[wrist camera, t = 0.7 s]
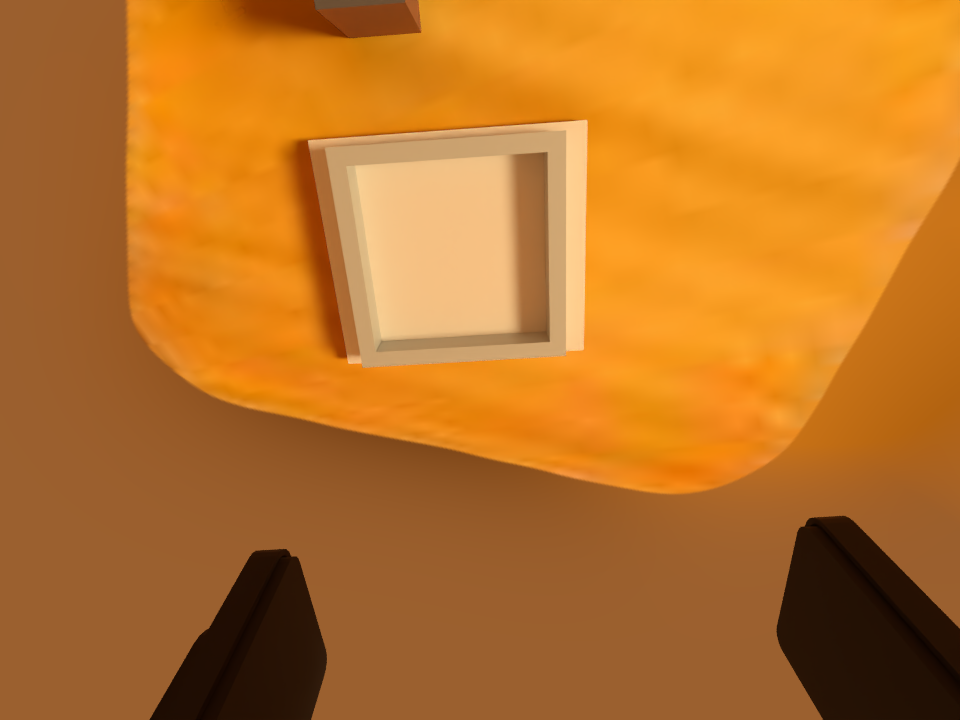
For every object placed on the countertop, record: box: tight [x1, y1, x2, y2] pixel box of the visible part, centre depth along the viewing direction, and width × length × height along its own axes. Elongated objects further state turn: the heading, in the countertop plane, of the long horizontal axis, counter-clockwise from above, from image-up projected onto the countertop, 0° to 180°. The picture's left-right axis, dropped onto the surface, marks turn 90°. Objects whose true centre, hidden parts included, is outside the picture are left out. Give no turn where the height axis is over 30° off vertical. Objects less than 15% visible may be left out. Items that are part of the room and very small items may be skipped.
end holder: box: [308, 120, 587, 368], centre depth 31 cm, size 14×16×3 cm
